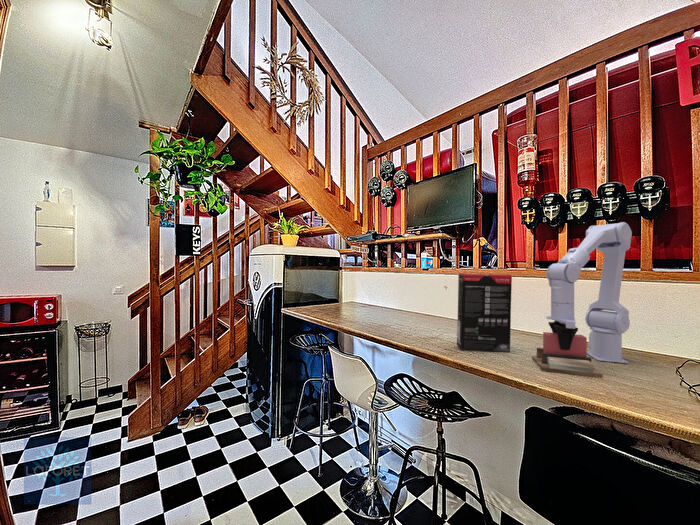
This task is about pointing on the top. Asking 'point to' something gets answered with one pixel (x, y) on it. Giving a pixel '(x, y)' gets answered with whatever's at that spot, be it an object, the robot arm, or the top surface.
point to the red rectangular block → (553, 347)
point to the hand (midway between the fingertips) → (562, 347)
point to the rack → (566, 364)
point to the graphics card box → (484, 312)
